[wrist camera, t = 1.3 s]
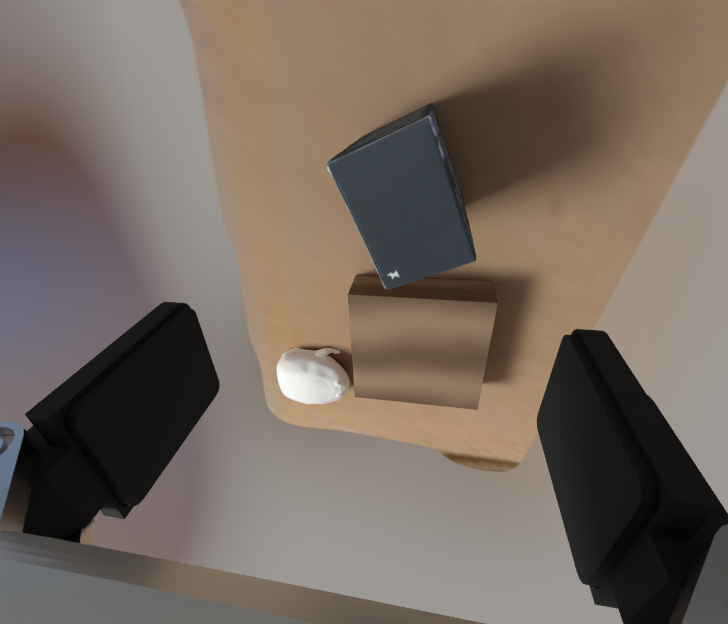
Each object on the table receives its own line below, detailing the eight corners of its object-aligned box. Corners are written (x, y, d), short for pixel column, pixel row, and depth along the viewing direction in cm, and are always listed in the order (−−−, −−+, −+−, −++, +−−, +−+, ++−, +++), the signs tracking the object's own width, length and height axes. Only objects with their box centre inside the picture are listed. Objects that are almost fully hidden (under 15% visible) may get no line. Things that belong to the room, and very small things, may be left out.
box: (466, 205, 28) (478, 264, 19) (399, 230, 30) (382, 293, 22) (433, 99, 25) (430, 112, 16) (360, 135, 27) (321, 164, 18)
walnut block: (356, 273, 34) (347, 294, 30) (491, 279, 32) (498, 303, 28) (361, 370, 40) (354, 396, 37) (474, 380, 38) (477, 409, 35)
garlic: (350, 346, 38) (342, 370, 35) (354, 392, 42) (347, 418, 39) (279, 341, 40) (265, 363, 36) (288, 386, 43) (277, 410, 40)
